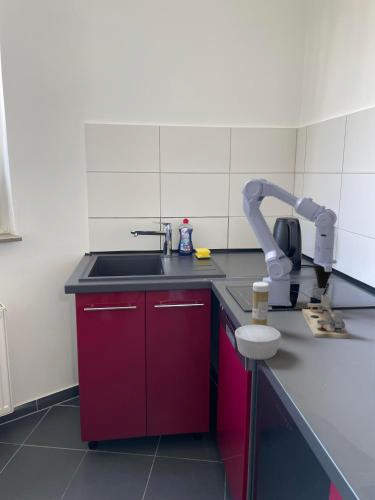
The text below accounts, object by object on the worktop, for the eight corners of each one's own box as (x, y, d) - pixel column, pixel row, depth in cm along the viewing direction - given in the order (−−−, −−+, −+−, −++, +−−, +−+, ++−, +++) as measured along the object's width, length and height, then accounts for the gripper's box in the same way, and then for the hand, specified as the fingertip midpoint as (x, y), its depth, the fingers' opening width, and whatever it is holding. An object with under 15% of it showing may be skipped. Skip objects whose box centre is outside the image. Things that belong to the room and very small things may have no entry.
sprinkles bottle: (249, 325, 117) (251, 281, 114) (264, 324, 117) (266, 281, 115) (254, 331, 112) (255, 286, 110) (269, 330, 113) (271, 285, 110)
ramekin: (225, 351, 100) (226, 332, 99) (252, 339, 107) (252, 320, 106) (262, 367, 92) (263, 346, 91) (288, 352, 100) (289, 332, 99)
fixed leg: (318, 330, 110) (319, 312, 109) (316, 326, 113) (317, 309, 112) (344, 331, 109) (345, 313, 108) (341, 327, 112) (342, 309, 111)
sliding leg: (308, 311, 124) (309, 296, 123) (306, 308, 127) (307, 293, 126) (330, 312, 124) (332, 296, 123) (328, 309, 126) (329, 294, 125)
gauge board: (314, 336, 109) (315, 329, 108) (302, 311, 128) (302, 306, 128) (348, 338, 108) (349, 331, 107) (330, 312, 127) (330, 307, 127)
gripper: (343, 251, 119) (340, 294, 122) (331, 243, 133) (328, 282, 136) (319, 251, 120) (317, 294, 123) (310, 243, 134) (308, 281, 137)
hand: (321, 287), depth 129 cm, fingers closed
